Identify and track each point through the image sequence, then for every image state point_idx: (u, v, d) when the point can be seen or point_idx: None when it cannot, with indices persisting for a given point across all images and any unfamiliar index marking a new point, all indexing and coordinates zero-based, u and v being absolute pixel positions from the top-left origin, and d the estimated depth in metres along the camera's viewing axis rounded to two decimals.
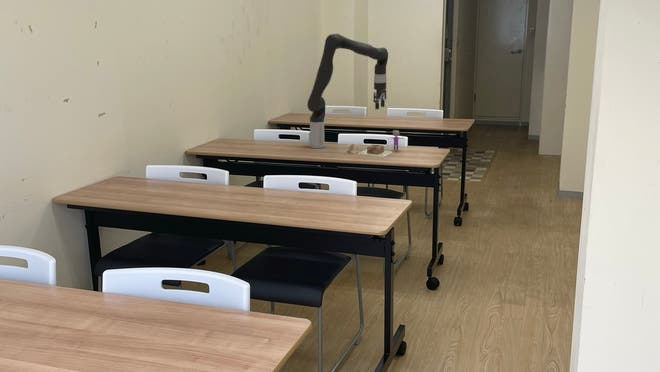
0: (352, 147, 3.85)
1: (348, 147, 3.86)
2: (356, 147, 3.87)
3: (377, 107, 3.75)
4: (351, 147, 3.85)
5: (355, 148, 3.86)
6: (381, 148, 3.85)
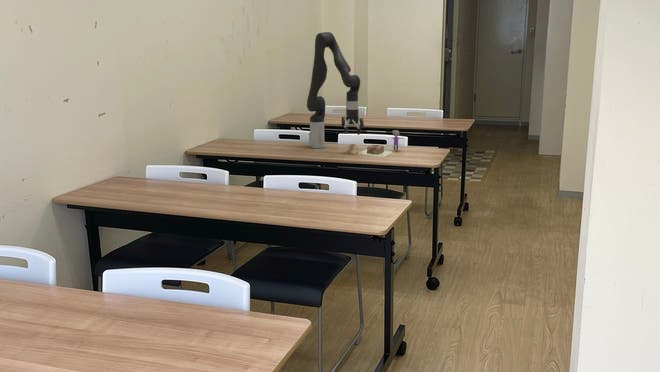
0: (352, 147, 3.85)
1: (348, 147, 3.86)
2: (356, 147, 3.87)
3: (360, 132, 3.83)
4: (351, 147, 3.85)
5: (355, 148, 3.86)
6: (381, 148, 3.85)
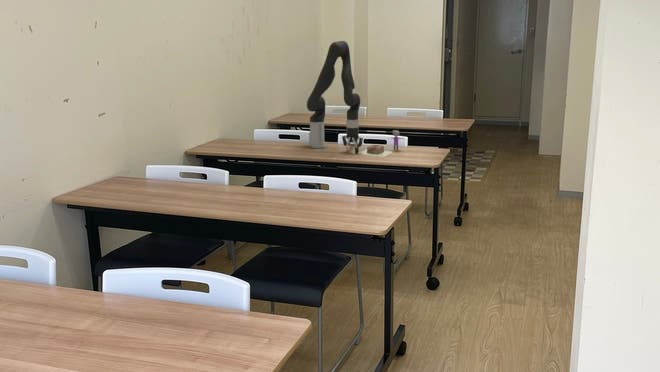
0: (352, 147, 3.85)
1: (348, 147, 3.86)
2: None
3: (358, 151, 3.87)
4: (351, 147, 3.85)
5: None
6: (381, 148, 3.85)
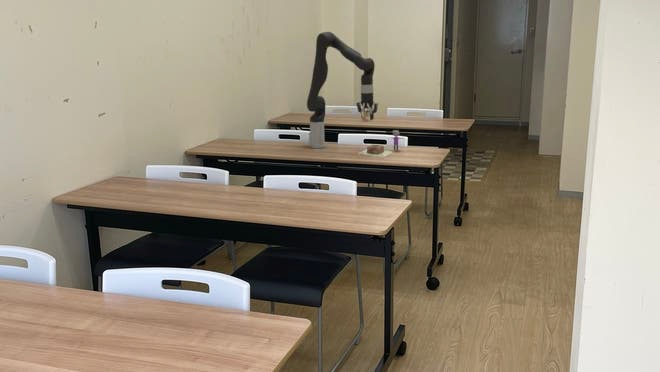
0: (367, 113, 3.77)
1: (363, 113, 3.79)
2: None
3: (373, 117, 3.79)
4: (366, 113, 3.77)
5: None
6: (381, 148, 3.85)
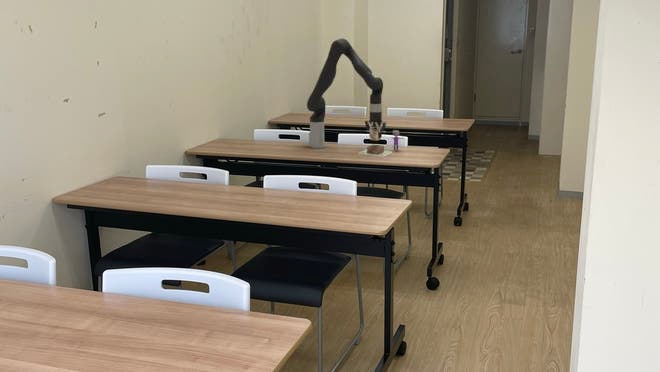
0: (375, 132, 3.81)
1: (371, 132, 3.82)
2: None
3: (381, 136, 3.83)
4: (374, 132, 3.81)
5: (378, 133, 3.82)
6: (381, 148, 3.85)
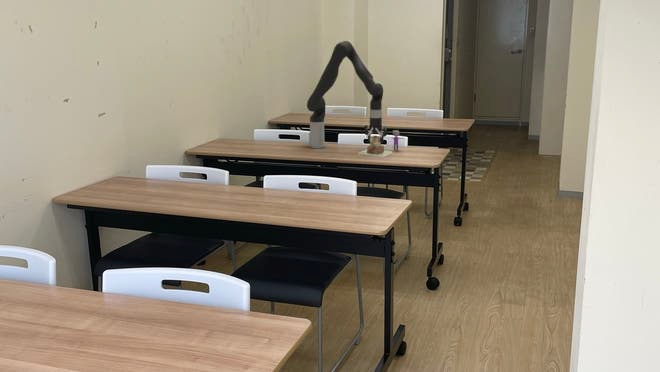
0: (375, 139, 3.82)
1: (371, 139, 3.84)
2: (379, 139, 3.84)
3: None
4: (374, 139, 3.83)
5: (378, 140, 3.83)
6: (381, 148, 3.85)
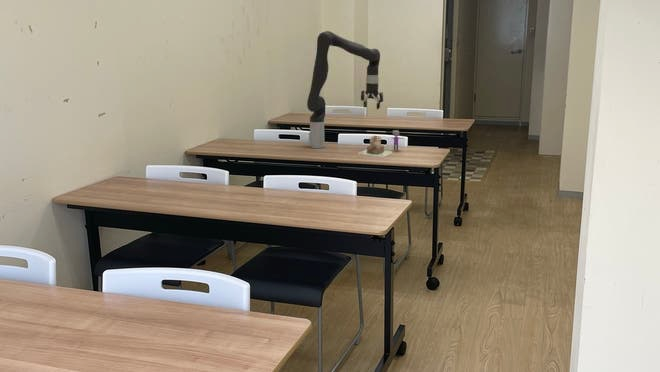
0: (375, 139, 3.82)
1: (371, 139, 3.84)
2: (379, 139, 3.84)
3: (379, 106, 3.84)
4: (374, 139, 3.83)
5: (378, 140, 3.83)
6: (381, 148, 3.85)
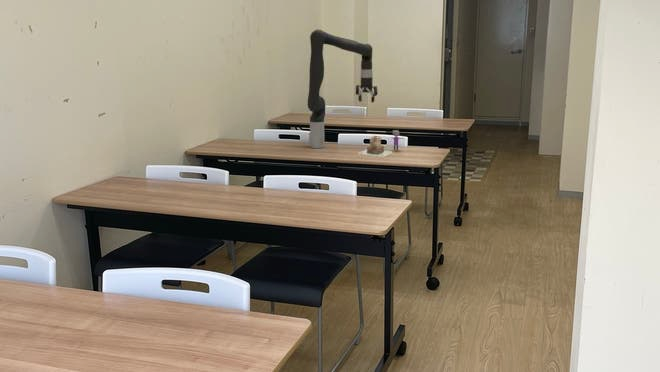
0: (375, 139, 3.82)
1: (371, 139, 3.84)
2: (379, 139, 3.84)
3: None
4: (374, 139, 3.83)
5: (378, 140, 3.83)
6: (381, 148, 3.85)
